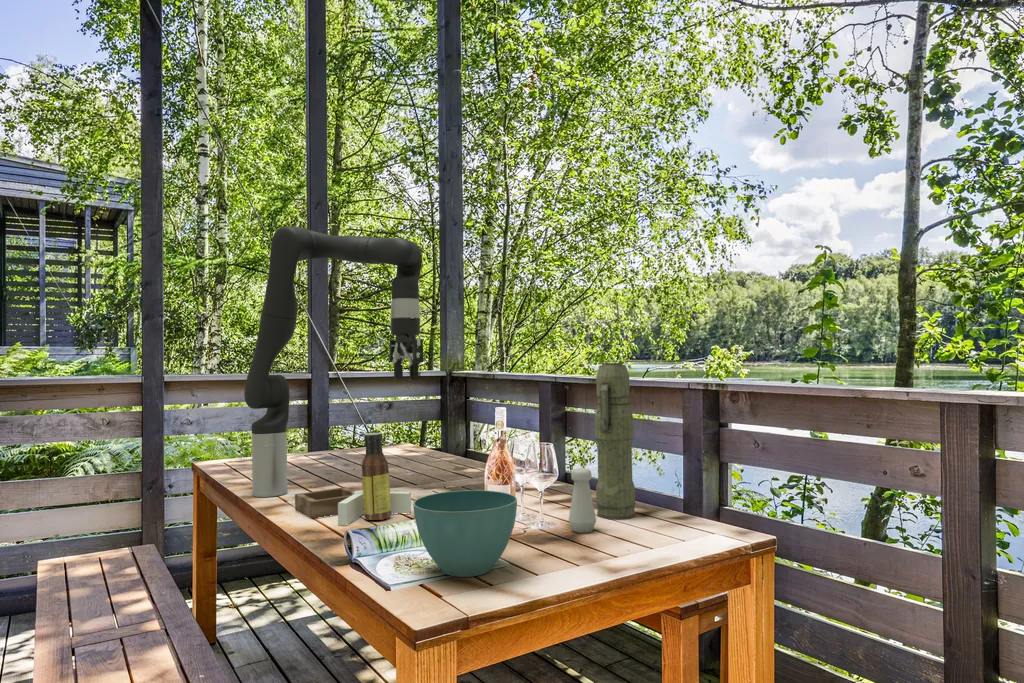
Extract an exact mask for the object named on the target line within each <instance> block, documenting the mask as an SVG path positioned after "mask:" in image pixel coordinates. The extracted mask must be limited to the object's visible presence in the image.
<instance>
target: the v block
mask: <svg viewBox="0 0 1024 683" xmlns="http://www.w3.org/2000/svg"><path fill="white" fill-rule="evenodd" d="M354 491H355V492H352V496H350V497H348V498H346V499H345V500H343V501H341V502H339V503H338V515H337V518H338V519H337V525H347V524H349V523H350V522H352V521H353V522H354V520H355V519H356V520H358V519H359V518H360V517H359V516H361V515H362V514H364V505H363V489H362V490H358V491H357V490H354ZM390 500H391V515H393V514H392V513H407V514H408V513H410V512H411V513H412V493H411V491H390ZM411 513H410V514H411ZM364 515H365V514H364ZM362 516H363V515H362ZM362 516H361V517H362ZM358 517H359V518H358ZM357 518H358V519H357ZM356 520H355V521H356ZM353 522H352V523H353ZM350 524H351V523H350ZM350 524H349V525H350ZM347 526H348V525H347Z"/></svg>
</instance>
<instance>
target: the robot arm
mask: <svg viewBox="0 0 1024 683" xmlns="http://www.w3.org/2000/svg"><path fill="white" fill-rule="evenodd" d="M269 251H270V253H269V264H268V265H269V266H268V267H269V268H268V277H267V283H266V288H265V292H264V294H265V296H264V299H263V300H264V301H263V304H262V309H261V314H260V319H259V327H258V330H257V331H258V332H257V338H256V343H255V348H254V351H253V356H252V360H251V363H250V366H249V370H248V373H247V376H246V379H245V380H246V381H245V384H244V391H243V392H244V394H243V395H244V396H243V397H244V401H245V404H246V406H247V407H249V408H250V409H253V410H255V409H256V410H257V409H258V410H259V409H266V412H265V414H264V415H263V416H262V417H261V418H258V419H257V420H255V421H253V422H252V424H251V478H252V479H251V480H252V481H251V482H252V485H251V486H252V496H253V497H257V498H266V497H267V498H269V497H271V498H272V497H278V496H282V495H286V494H287V493H288V451H287V450H288V447H287V446H288V444H287V425H288V423H289V416H290V415H289V414H290V387H289V382H288V379H286V377H285V376H284V375H282V374H270V372H271V368H272V366H273V364H274V361H275V359H276V358H277V357H278V356H279V355H280V353H281V352H282V351H283V349H284V348H285V347H286V346H287V344H288V343H289V342H290V340H291V339H292V337H293V335H294V333H295V330H296V324H297V319H298V313H299V311H298V308H299V306H298V300H297V295H296V291H295V284H294V283H295V275H296V270H297V267H298V262H302V261H307V260H313V259H314V260H316V259H335V260H341V261H345V262H350V263H351V262H352V263H357V264H366V265H379V264H385V265H392V266H396V275H395V277H394V278H392V280H391V290H390V291H391V304H390V335H392V336H395V339H390V340H389V344H388V346H389V348H388V349H389V352H388V354H389V355H388V356H389V358H388V360H389V362H390V363H392V365H393V377H394V379H395V380H399V379H400V380H401V379H403V378H404V367H403V366H404V365H403V362H404V360H405V359H407V360H408V363H409V366H408V367H409V380H410V381H417V380H419V378H420V376H419V371H420V370H419V365H421V363H424V359H425V358H424V339H423V338H416V336H418V335H420V334H421V307H420V306H421V305H420V290H419V289H420V288H419V286H420V285H419V281H420V277H421V271H422V264H423V254H422V250H421V248H420V247H419V245H418V244H417V243H415V242H413V241H410V240H408V239H406V238H400V237H382V238H381V237H374V236H361V235H334V234H326V233H322V232H317V231H314V230H312V229H311V230H310V229H307V228H304V227H301V226H294V225H293V226H291V225H285V226H281V227H279V228H278V229H276V231H274V233H273V235H272V239H271V243H270V250H269Z"/></svg>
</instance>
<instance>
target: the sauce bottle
mask: <svg viewBox="0 0 1024 683" xmlns="http://www.w3.org/2000/svg"><path fill="white" fill-rule="evenodd" d="M363 438H364V441H365V455H364V457H363V459H362V462H361V481H362V482H361V483H362V484H361V485H362V490H363V505H364V518H365V520H366V521H368V520H381V521H385V520H384V519H386V520H388V519H390V518H391V516H392V514H391V500H390V492H391V487H390V486H391V485H390V472H389V464H388V461H387V459H386V457H385V454H384V452H383V445H382V444H383V443H382V442H383V441H382V440H383V434H382V432H369V433H365V434H364V436H363Z"/></svg>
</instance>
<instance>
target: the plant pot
mask: <svg viewBox="0 0 1024 683" xmlns="http://www.w3.org/2000/svg"><path fill="white" fill-rule="evenodd" d="M412 504H413V505H412V506H413V507H412V508H413V516H414V520H415V526H416V527H417V531H418V535H419V537H420V540H421V542H422V544H423V546H424V548H425V551H426V552H427V553H428V555H429V556H430V558H431V559H432V560H433V562H434V563H435V564H436V565H437V567H439V569H440V570H441V571H442V572H443V573H444V574H446V575H448V576H451V577H457V578H469V577H476V576H477V577H478V576H481V575H484V574H487V573H488V572H490V571H491V570H492V569H493V567H494V566H495V565H496V564H497V562H498V561H499V559H500V558H501V557H502V555H503V553H504V552H505V550H506V548H507V546H508V544H509V541H510V540H511V539H510V538H511V536H512V533H513V530H514V526H515V522H516V517H517V508H518V507H517V506H518V498H517V497H516V495H513V494H511V493H507V492H504V491H495V490H483V489H482V490H481V489H480V490H479V489H477V490H476V489H474V490H473V489H468V490H467V489H466V490H454V491H453V490H451V491H450V490H449V491H443V492H442V491H441V492H436V493H431V494H427V495H424V496H421V497H419V498H418V497H417V499H415V500H414V501H413V503H412Z"/></svg>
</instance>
